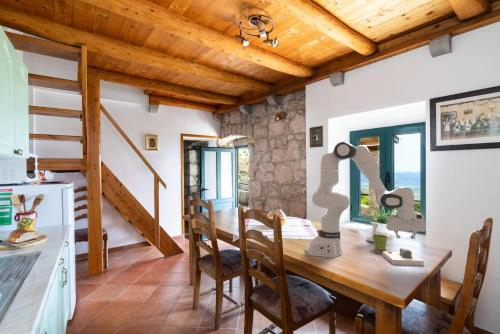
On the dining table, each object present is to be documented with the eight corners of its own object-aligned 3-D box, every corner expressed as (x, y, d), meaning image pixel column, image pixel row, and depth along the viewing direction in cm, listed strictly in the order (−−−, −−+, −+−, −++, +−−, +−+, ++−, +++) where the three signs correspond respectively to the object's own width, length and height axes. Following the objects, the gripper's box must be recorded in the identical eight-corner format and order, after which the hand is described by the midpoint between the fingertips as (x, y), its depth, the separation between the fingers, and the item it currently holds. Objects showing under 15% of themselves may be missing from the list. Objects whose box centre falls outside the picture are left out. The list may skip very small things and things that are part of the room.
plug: (404, 261, 141) (404, 250, 141) (399, 258, 146) (399, 247, 146) (411, 262, 140) (411, 250, 140) (407, 258, 145) (407, 248, 145)
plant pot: (379, 252, 157) (379, 238, 157) (369, 247, 166) (368, 234, 166) (391, 250, 159) (391, 237, 160) (380, 246, 169) (380, 233, 169)
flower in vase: (379, 239, 184) (379, 206, 184) (386, 244, 173) (386, 208, 173) (361, 239, 186) (361, 206, 186) (367, 243, 174) (366, 208, 174)
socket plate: (393, 264, 137) (393, 258, 137) (382, 255, 151) (382, 250, 151) (423, 265, 135) (423, 259, 135) (410, 256, 149) (410, 251, 149)
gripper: (388, 215, 141) (388, 239, 141) (427, 216, 139) (427, 240, 138) (384, 213, 147) (384, 236, 147) (420, 214, 145) (421, 237, 145)
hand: (405, 238), depth 143 cm, fingers open, 6 cm apart
